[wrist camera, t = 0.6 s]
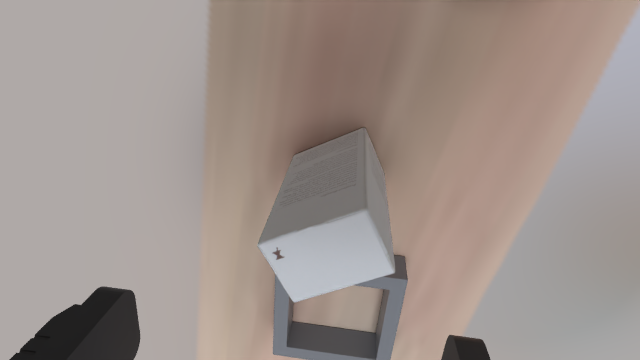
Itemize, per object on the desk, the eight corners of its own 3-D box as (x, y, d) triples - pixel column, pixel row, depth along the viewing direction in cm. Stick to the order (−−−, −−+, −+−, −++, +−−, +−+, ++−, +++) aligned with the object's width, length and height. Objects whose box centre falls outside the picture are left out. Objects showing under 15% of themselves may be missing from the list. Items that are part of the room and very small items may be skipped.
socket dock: (282, 241, 34) (275, 262, 32) (404, 256, 34) (407, 280, 31) (279, 328, 39) (272, 354, 36) (386, 344, 38) (387, 371, 36)
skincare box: (316, 199, 32) (290, 306, 21) (293, 153, 31) (252, 244, 20) (387, 173, 30) (398, 276, 20) (367, 124, 29) (365, 206, 18)
